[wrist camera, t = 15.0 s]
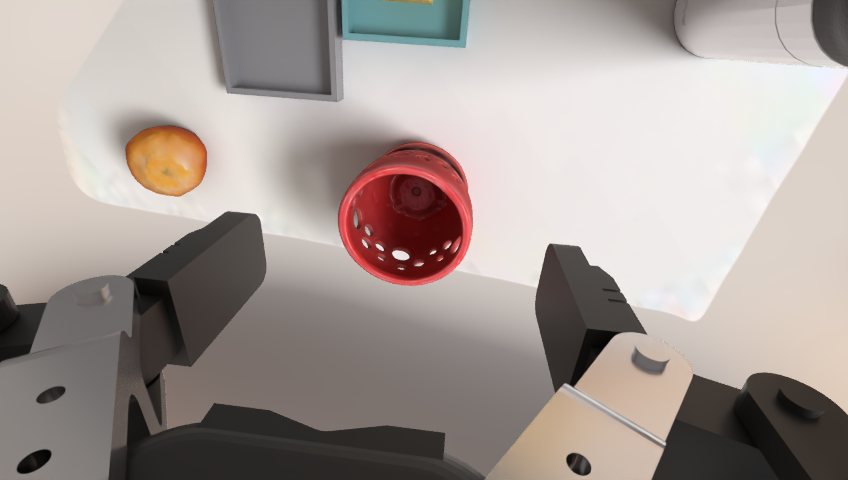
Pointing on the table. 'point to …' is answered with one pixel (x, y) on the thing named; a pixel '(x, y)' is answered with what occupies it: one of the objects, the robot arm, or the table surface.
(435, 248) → the plant pot
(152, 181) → the fruit
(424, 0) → the marked block
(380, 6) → the tray
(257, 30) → the tray
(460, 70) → the table surface
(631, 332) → the robot arm
